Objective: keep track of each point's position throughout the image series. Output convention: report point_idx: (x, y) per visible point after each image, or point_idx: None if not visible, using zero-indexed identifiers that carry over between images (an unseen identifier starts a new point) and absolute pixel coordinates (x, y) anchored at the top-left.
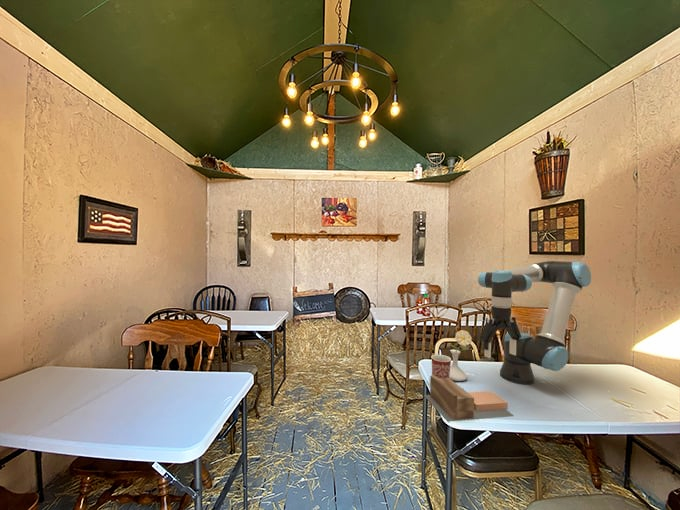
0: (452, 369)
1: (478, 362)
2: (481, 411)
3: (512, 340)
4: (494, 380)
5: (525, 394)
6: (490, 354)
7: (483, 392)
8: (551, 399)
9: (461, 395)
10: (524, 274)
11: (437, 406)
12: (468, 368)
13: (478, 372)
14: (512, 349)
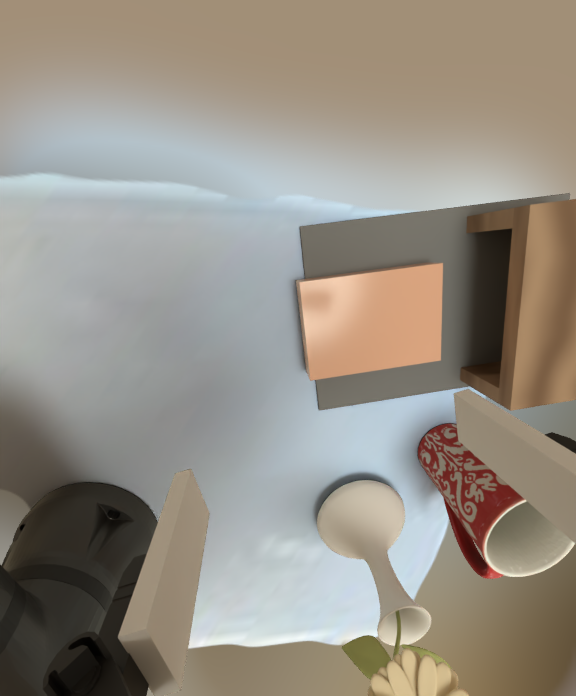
0: (388, 530)
1: None
2: (409, 261)
3: (167, 640)
4: None
5: (141, 402)
6: (480, 407)
7: (349, 366)
8: (47, 366)
9: (571, 230)
10: None
11: None
12: (256, 590)
13: (234, 563)
14: (190, 526)
